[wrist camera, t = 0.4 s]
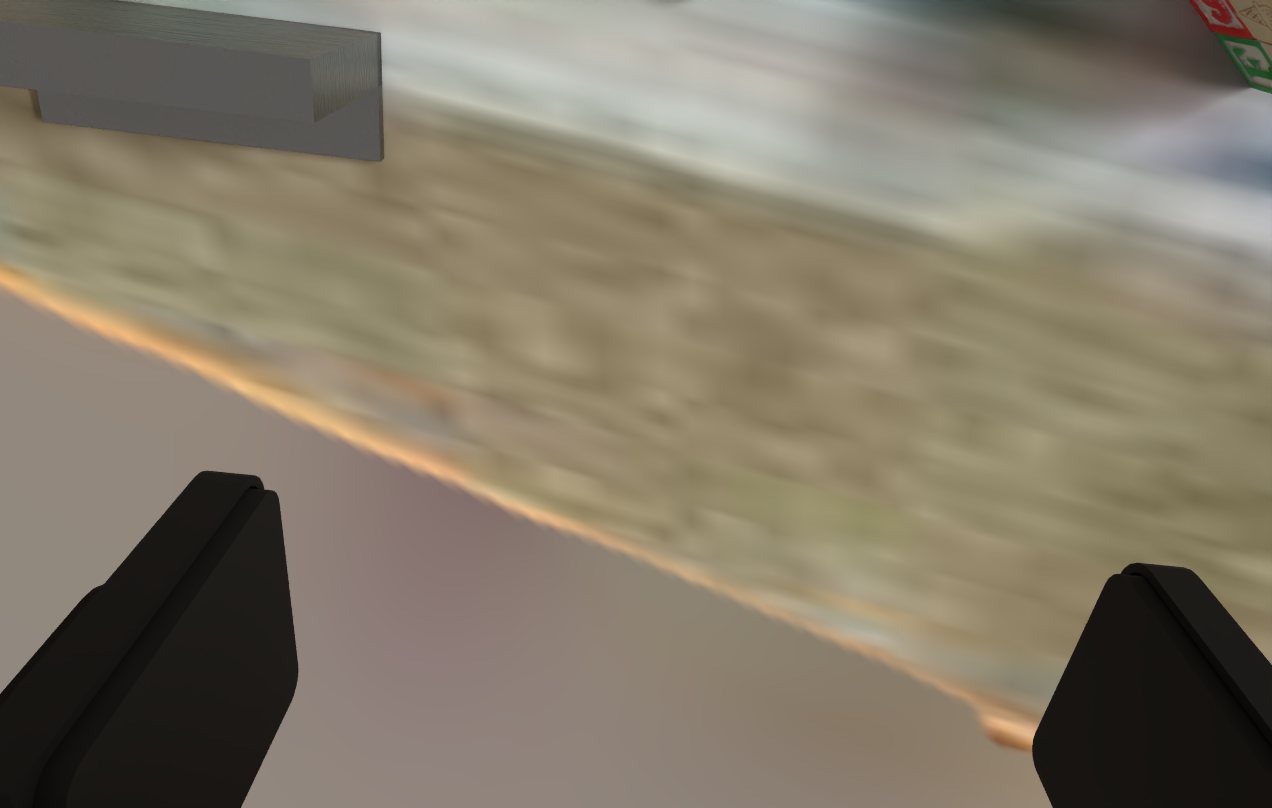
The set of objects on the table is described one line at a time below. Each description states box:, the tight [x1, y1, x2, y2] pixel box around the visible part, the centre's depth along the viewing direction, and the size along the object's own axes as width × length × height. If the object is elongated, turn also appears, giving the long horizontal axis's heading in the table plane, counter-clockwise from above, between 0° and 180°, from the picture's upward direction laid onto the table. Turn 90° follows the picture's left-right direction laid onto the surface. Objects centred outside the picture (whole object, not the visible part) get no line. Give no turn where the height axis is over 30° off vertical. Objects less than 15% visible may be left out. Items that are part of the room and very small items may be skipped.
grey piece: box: [0, 0, 384, 162], centre depth 32 cm, size 5×14×8 cm, turn 84°
